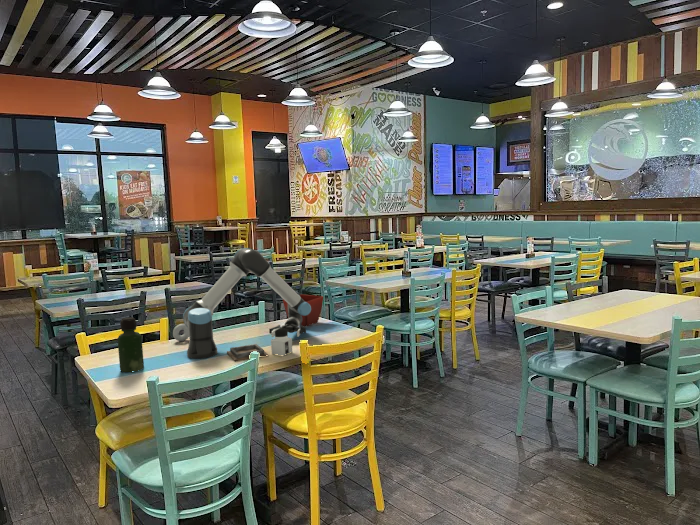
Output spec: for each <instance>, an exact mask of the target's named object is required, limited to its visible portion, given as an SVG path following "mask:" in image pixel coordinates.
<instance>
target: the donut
mask: <svg viewBox="0 0 700 525" xmlns="http://www.w3.org/2000/svg"><path fill="white" fill-rule="evenodd" d="M181 331H183V334H182V335H181V334H180V332H181ZM172 336H173V338H174V339H175V340H176V341H179V342H184V341H186V340H187V339H189V338H190V337H189V328H188V327H187V326H186V325H185V324H184V323H180V324H178V325H176V326H175V327H174V328H173V330H172Z"/></svg>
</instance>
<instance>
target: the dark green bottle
mask: <svg viewBox="0 0 700 525" xmlns="http://www.w3.org/2000/svg"><path fill="white" fill-rule="evenodd" d="M120 329H121V332H122V333H121V334H119V335H118V336H117V339H116V340H117V346H118V347H117V349H118V358H119V359H118V360H119V370H121V371H123V372H122V373H124V372H131V373H133V372H132V371H137V372H139V371H141V369H142V370H143V369H144V368H145V364H144V363H145V362H144V351H143V350H144V348H143V337H142V335H141V333H139V332H138V331H136V330H137V321H136V318H134V317H133V316H130V317H123V318H122V319H121V320H120ZM138 370H139V371H138ZM121 371H120V372H121Z"/></svg>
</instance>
